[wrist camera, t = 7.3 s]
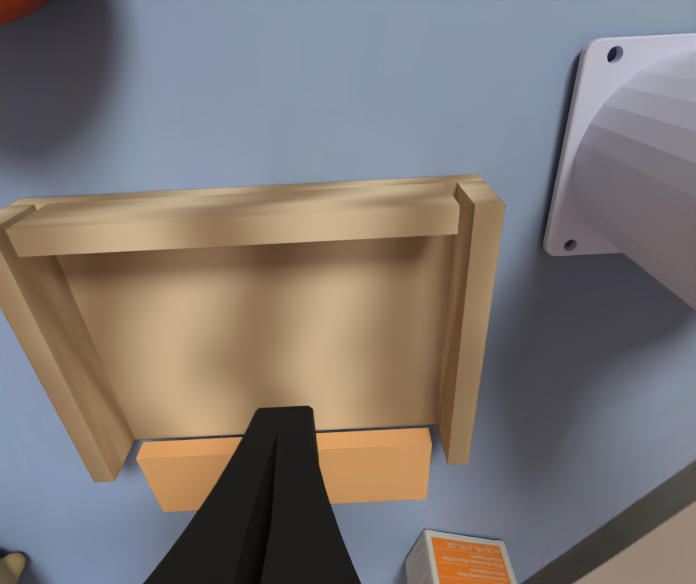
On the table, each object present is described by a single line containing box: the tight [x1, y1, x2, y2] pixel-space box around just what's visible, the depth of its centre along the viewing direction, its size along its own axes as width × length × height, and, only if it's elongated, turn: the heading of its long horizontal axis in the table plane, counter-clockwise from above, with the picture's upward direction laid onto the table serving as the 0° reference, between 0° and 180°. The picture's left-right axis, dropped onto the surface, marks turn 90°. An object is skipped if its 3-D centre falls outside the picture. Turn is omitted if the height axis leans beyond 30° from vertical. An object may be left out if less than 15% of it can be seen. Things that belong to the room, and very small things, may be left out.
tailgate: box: [136, 428, 432, 512], centre depth 25 cm, size 15×2×5 cm
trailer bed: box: [0, 175, 505, 482], centre depth 19 cm, size 18×13×3 cm
